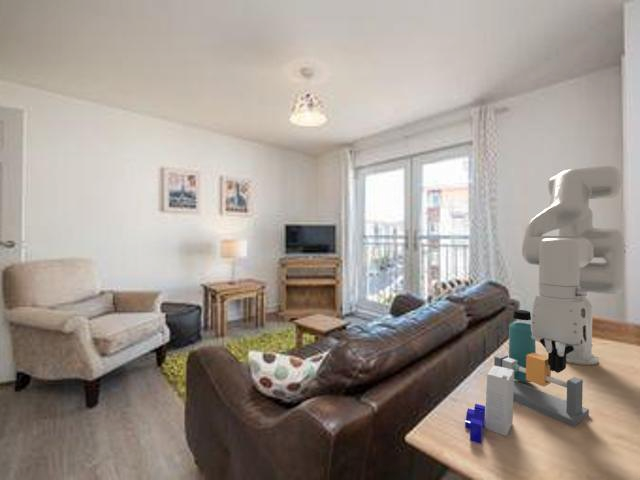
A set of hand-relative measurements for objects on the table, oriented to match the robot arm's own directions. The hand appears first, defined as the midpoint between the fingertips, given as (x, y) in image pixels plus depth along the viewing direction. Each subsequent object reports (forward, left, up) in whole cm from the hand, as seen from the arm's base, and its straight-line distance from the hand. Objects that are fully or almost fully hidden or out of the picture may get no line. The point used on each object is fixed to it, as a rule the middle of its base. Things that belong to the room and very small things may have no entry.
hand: (556, 370), depth 75 cm
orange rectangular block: (0, -4, -4) cm, 6 cm away
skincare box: (+17, -4, -10) cm, 20 cm away
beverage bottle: (-8, -12, -10) cm, 17 cm away
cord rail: (0, -5, -10) cm, 11 cm away
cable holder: (+23, -6, -10) cm, 26 cm away
